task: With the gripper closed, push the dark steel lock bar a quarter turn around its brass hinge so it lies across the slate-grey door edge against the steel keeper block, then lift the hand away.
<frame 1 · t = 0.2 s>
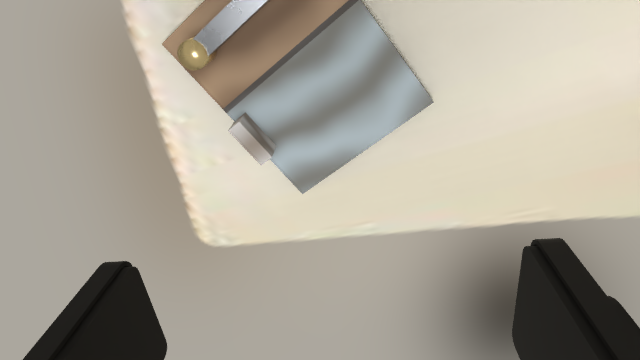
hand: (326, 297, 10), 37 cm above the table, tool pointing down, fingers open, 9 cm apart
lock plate: (300, 70, 44), on the table
lock bar: (239, 11, 39), point 3 cm above the table, hinge at 0.0°
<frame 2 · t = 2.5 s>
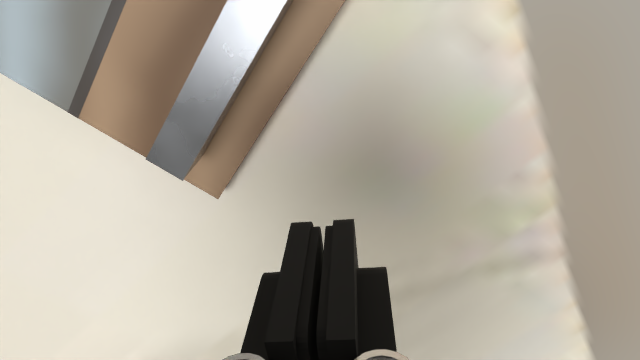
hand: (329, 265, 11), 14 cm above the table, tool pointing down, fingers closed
lock bar: (241, 37, 19), point 3 cm above the table, hinge at 0.0°
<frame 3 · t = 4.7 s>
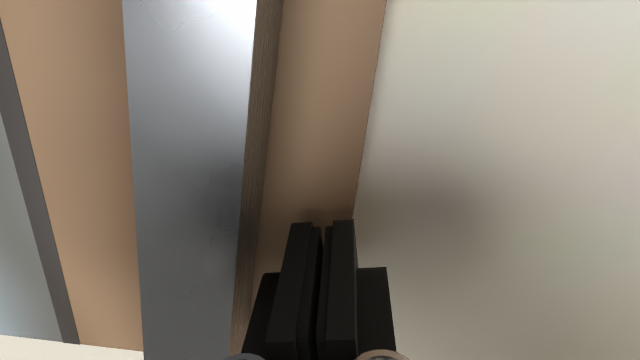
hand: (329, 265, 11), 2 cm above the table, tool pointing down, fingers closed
lock bar: (210, 136, 9), point 3 cm above the table, hinge at 3.4°, touching gripper
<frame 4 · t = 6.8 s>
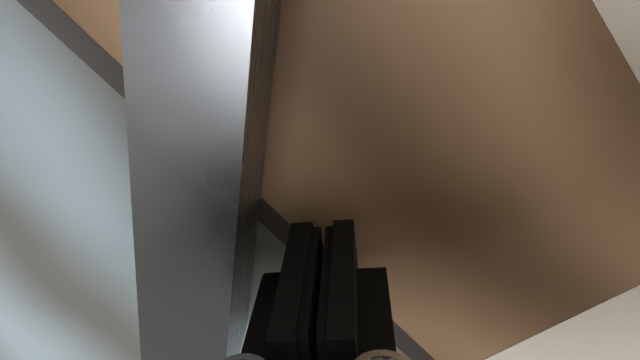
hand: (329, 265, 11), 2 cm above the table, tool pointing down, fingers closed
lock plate: (221, 215, 13), on the table
lock bar: (208, 134, 9), point 3 cm above the table, hinge at 50.9°, touching gripper
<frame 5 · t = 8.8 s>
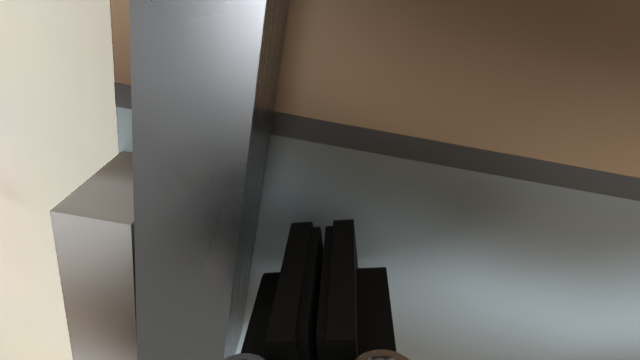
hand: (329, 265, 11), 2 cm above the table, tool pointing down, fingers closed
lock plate: (439, 198, 13), on the table
lock bar: (212, 134, 9), point 3 cm above the table, hinge at 91.1°, touching gripper
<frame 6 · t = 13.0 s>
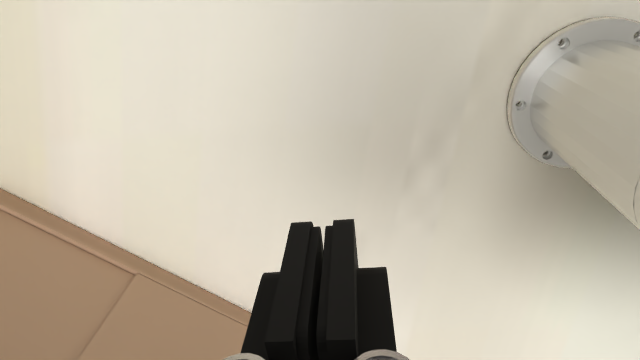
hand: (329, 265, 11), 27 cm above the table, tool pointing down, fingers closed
box: (145, 286, 49), on the table
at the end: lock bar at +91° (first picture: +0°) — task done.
